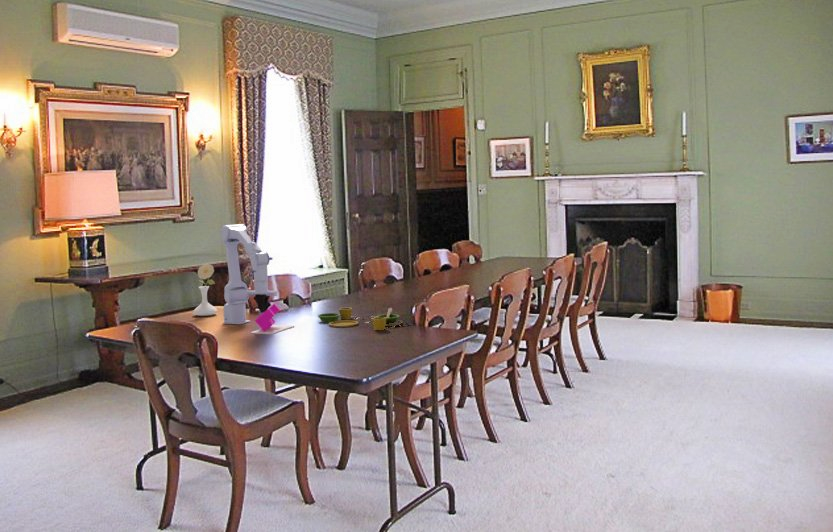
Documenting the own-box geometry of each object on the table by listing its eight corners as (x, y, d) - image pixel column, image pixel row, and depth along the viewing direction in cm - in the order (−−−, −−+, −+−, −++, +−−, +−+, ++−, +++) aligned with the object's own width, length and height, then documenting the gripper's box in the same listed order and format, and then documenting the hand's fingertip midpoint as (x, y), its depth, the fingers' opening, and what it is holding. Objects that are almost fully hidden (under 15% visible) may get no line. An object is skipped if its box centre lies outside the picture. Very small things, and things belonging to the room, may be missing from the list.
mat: (250, 333, 338) (250, 332, 338) (274, 325, 355) (274, 324, 355) (271, 334, 334) (271, 333, 334) (294, 326, 351) (294, 325, 351)
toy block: (264, 331, 338) (277, 320, 338) (254, 320, 338) (267, 308, 337) (271, 325, 353) (284, 314, 353) (261, 314, 353) (274, 303, 352)
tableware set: (415, 327, 346) (415, 312, 345) (359, 335, 330) (359, 320, 329) (364, 315, 379) (363, 302, 379) (311, 322, 363) (310, 308, 363)
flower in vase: (187, 316, 386) (185, 264, 383) (206, 312, 395) (203, 261, 392) (206, 318, 378) (204, 265, 376) (225, 314, 388) (222, 262, 385)
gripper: (241, 281, 343) (242, 313, 344) (270, 282, 337) (271, 314, 339) (250, 279, 350) (252, 310, 351) (279, 280, 344) (280, 311, 345)
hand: (262, 312), depth 345 cm, fingers closed
